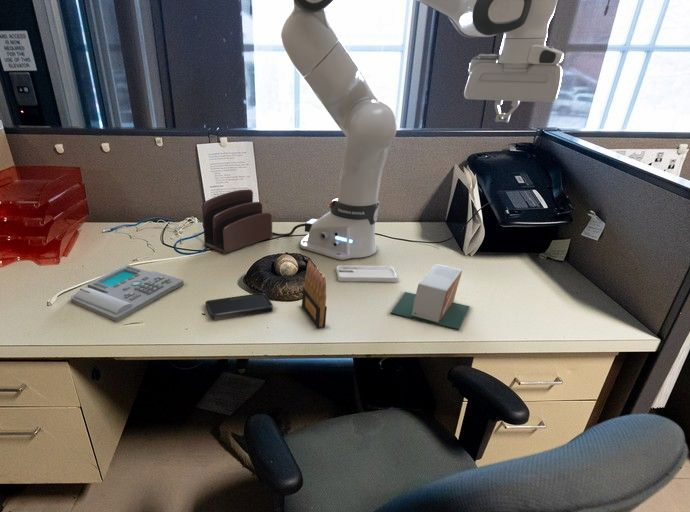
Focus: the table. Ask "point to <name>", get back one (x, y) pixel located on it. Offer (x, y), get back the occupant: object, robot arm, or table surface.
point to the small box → (436, 292)
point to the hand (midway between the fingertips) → (501, 121)
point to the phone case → (367, 274)
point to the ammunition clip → (315, 296)
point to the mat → (449, 320)
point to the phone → (238, 306)
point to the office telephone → (124, 291)
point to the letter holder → (234, 221)
